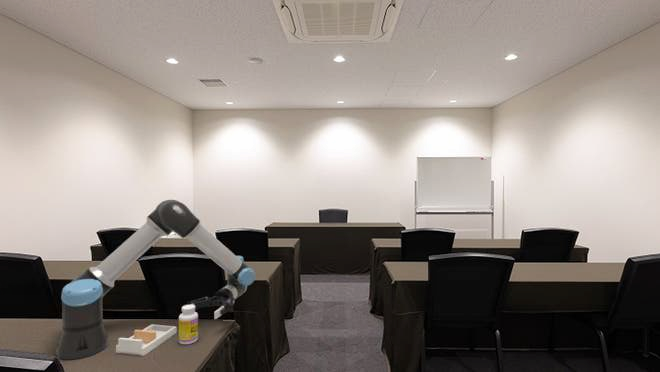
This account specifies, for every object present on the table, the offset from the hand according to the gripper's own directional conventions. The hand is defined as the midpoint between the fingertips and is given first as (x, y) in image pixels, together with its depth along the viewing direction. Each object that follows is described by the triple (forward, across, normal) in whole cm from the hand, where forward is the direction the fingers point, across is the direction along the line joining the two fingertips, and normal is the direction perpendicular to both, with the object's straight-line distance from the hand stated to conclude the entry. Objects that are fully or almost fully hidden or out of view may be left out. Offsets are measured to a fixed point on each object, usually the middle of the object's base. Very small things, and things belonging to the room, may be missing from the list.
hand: (199, 314), depth 136 cm
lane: (+10, +15, -8) cm, 19 cm away
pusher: (+12, +15, -7) cm, 20 cm away
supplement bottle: (+6, 0, -8) cm, 10 cm away
